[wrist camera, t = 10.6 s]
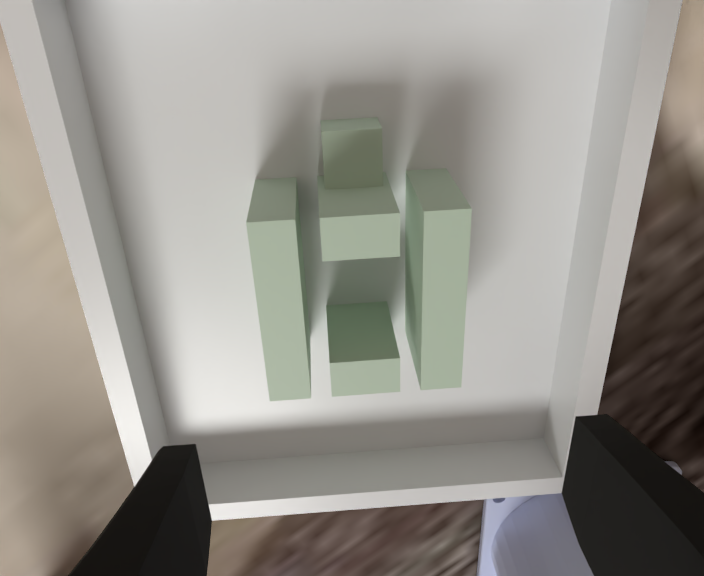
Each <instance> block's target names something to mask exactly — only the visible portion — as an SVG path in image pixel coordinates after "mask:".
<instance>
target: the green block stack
mask: <svg viewBox="0 0 704 576" xmlns="http://www.w3.org/2000/svg"><path fill="white" fill-rule="evenodd" d="M320 122H321V138H322V153H323V169H324V176H317V184H318V202H319V220H320V234H321V248H322V262H323V261H338V260H354V259H369V258H384V257H400V211H399V209H398V206H397V203H396V200H395V198H394V195H393V192H392V189H391V186H390V184H389V181H388V178H387V175H386V173H385V172H383V152H382V127H381V124H380V122H379V120H378V117H372V118H354V119H336V120H320ZM471 216H472V208H471V206H470V205H469V203H468V202H467V200H466V198H465V197H464V195H463V194H462V192H461V191H460V189H459V188H458V186H457V184H456V183H455V181H454V180H453V178H452V177H451V175H450V173H449V172H448V170H447V169H446V168H441V169H424V170H407V171H406V196H405V332H406V336H407V340H408V344H409V348H410V352H411V355H412V359H413V363H414V367H415V371H416V374H417V378H418V382H419V386H420V390H431V389H444V388H458V387H461V384H462V367H463V350H464V333H465V316H466V300H467V283H468V266H469V249H470V233H471ZM246 226H247V234H248V241H249V249H250V256H251V264H252V271H253V279H254V286H255V294H256V301H257V309H258V316H259V324H260V331H261V339H262V346H263V354H264V362H265V369H266V377H267V384H268V392H269V399H270V401H282V400H296V399H309V398H311V349H310V328H309V316H308V305H307V293H306V281H305V270H304V258H303V247H302V235H301V224H300V212H299V200H298V189H297V177H290V178H273V179H257V180H255V183H254V187H253V192H252V197H251V202H250V206H249V211H248V216H247V220H246ZM326 313H327V330H328V346H329V363H330V377H331V392H332V397H336V396H350V395H363V394H377V393H390V392H400V355H399V351H398V347H397V342H396V338H395V334H394V329H393V325H392V321H391V316H390V312H389V308H388V304H387V301H384V302H369V303H354V304H340V305H326Z"/></svg>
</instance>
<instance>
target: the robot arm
mask: <svg viewBox="0 0 704 576" xmlns="http://www.w3.org/2000/svg"><path fill="white" fill-rule="evenodd" d="M211 524H212V519H211V514H210V509H209V504H208V500H207V495H206V490H205V485H204V481H203V476H202V471H201V466H200V462H199V457H198V452H197V447H196V444H186V445H172V446H163V447H162V448H161V449H160V450H159V451H158V452H157V453H156V455H155V456H154V458H153V460H152V461H151V463H150V464H149V466H148V467H147V469H146V470H145V472H144V473H143V475H142V476H141V478H140V479H139V481H138V482H137V484H136V485H135V487H134V488H133V490H132V491H131V492H130V494H129V495H128V497H127V498H126V500H125V501H124V503H123V504H122V505H121V507H120V508H119V510H118V511H117V512H116V514H115V515H114V517H113V518H112V519H111V521H110V522H109V523H108V525H107V526H106V527H105V529H104V530H103V532H102V533H101V534H100V536H99V537H98V538H97V540H96V541H95V542H94V544H93V545H92V546H91V548H90V549H89V550H88V552H87V553H86V554H85V555H84V556H83V558H82V559H81V560H80V561H79V563H78V564H77V565H76V566H75V568H74V569H73V570H72V571H71V573H70V574H69V575H68V576H206V575H207V567H208V557H209V547H210V535H211ZM477 576H704V492H702V491H701V490H700V489H698V488H697V487H696V486H695V485H693V484H692V483H691V482H690V481H688V480H687V479H686V478H684V477H683V476H682V470H681V469H680V467H679V466H678V465H677V463H675V462H673V461H664V460H662V459H661V458H660V457H659V456H657V455H656V454H655V453H654V452H653V451H651V450H650V449H649V448H648V447H647V446H645V445H644V444H643V443H642V442H641V441H639V440H638V439H637V438H636V437H635V436H633V435H632V434H631V433H630V432H628V431H627V430H626V429H625V428H624V427H622V426H621V425H620V424H619V423H618V422H616V421H615V420H614V419H612V418H611V417H610V416H609V415H607V414H603V415H589V416H576V417H575V423H574V428H573V434H572V439H571V445H570V450H569V456H568V461H567V466H566V472H565V477H564V483H563V488H562V493H558V494H545V495H532V496H519V497H506V498H494V499H484V505H483V516H482V526H481V536H480V546H479V556H478V566H477Z"/></svg>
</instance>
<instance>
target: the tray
mask: <svg viewBox="0 0 704 576" xmlns="http://www.w3.org/2000/svg"><path fill="white" fill-rule="evenodd" d="M682 1H683V0H0V23H1V26H2V29H3V33H4V36H5V40H6V43H7V47H8V50H9V54H10V57H11V61H12V64H13V68H14V71H15V75H16V78H17V81H18V85H19V88H20V92H21V95H22V99H23V102H24V106H25V109H26V113H27V116H28V120H29V123H30V127H31V130H32V133H33V137H34V140H35V144H36V147H37V151H38V154H39V158H40V161H41V165H42V168H43V172H44V175H45V179H46V182H47V185H48V189H49V192H50V196H51V199H52V203H53V206H54V210H55V213H56V217H57V220H58V224H59V227H60V231H61V234H62V238H63V241H64V244H65V248H66V251H67V255H68V258H69V262H70V265H71V269H72V272H73V276H74V279H75V283H76V286H77V290H78V293H79V296H80V300H81V303H82V307H83V310H84V314H85V317H86V321H87V324H88V328H89V331H90V335H91V338H92V342H93V345H94V348H95V352H96V355H97V359H98V362H99V366H100V369H101V373H102V376H103V380H104V383H105V387H106V390H107V394H108V397H109V400H110V404H111V407H112V411H113V414H114V418H115V421H116V425H117V428H118V432H119V435H120V439H121V442H122V446H123V449H124V453H125V456H126V459H127V463H128V466H129V470H130V473H131V477H132V480H133V484H134V487H135V485H136V484H137V482H138V481H139V479H140V478H141V476H142V475H143V473H144V472H145V470H146V469H147V467H148V466H149V464H150V463H151V461H152V460H153V458H154V456H155V455H156V453H157V452H158V451H159V450H160V449H161V448H162V447H163V446H172V445H186V444H196V447H197V452H198V457H199V462H200V466H201V471H202V476H203V481H204V485H205V490H206V495H207V500H208V504H209V509H210V514H211V519H212V521H213V520H225V519H238V518H251V517H264V516H276V515H289V514H302V513H315V512H328V511H340V510H353V509H366V508H379V507H391V506H404V505H417V504H430V503H443V502H455V501H468V500H481V499H494V498H506V497H519V496H532V495H545V494H558V493H562V488H563V483H564V477H565V472H566V466H567V461H568V456H569V450H570V445H571V439H572V434H573V428H574V423H575V417H576V416H589V415H597V413H598V408H599V404H600V399H601V394H602V389H603V384H604V379H605V374H606V370H607V365H608V360H609V355H610V350H611V345H612V340H613V336H614V331H615V326H616V321H617V316H618V311H619V306H620V302H621V297H622V292H623V287H624V282H625V277H626V272H627V268H628V263H629V258H630V253H631V248H632V243H633V239H634V234H635V229H636V224H637V219H638V214H639V209H640V205H641V200H642V195H643V190H644V185H645V180H646V175H647V171H648V166H649V161H650V156H651V151H652V146H653V141H654V137H655V132H656V127H657V122H658V117H659V112H660V107H661V103H662V98H663V93H664V88H665V83H666V78H667V74H668V69H669V64H670V59H671V54H672V49H673V44H674V40H675V35H676V30H677V25H678V20H679V15H680V10H681V6H682ZM372 117H378V120H379V122H380V124H381V127H382V152H383V172H385V173H386V175H387V178H388V181H389V184H390V186H391V189H392V192H393V195H394V198H395V200H396V203H397V206H398V209H399V211H400V257H384V258H369V259H354V260H338V261H323V262H322V248H321V234H320V220H319V202H318V184H317V176H324V169H323V153H322V138H321V122H320V120H336V119H354V118H372ZM441 168H446V169H447V170H448V172H449V173H450V175H451V177H452V178H453V180H454V181H455V183H456V184H457V186H458V188H459V189H460V191H461V192H462V194H463V195H464V197H465V198H466V200H467V202H468V203H469V205H470V206H471V208H472V216H471V233H470V249H469V266H468V283H467V300H466V316H465V333H464V350H463V367H462V384H461V387H458V388H444V389H431V390H420V386H419V382H418V378H417V374H416V371H415V367H414V363H413V359H412V355H411V352H410V348H409V344H408V340H407V336H406V332H405V196H406V171H407V170H424V169H441ZM290 177H297V189H298V200H299V212H300V224H301V235H302V247H303V258H304V270H305V281H306V293H307V305H308V316H309V328H310V349H311V398H309V399H296V400H282V401H270V399H269V392H268V384H267V377H266V369H265V362H264V354H263V346H262V339H261V331H260V324H259V316H258V309H257V301H256V294H255V286H254V279H253V271H252V264H251V256H250V249H249V241H248V234H247V226H246V220H247V216H248V211H249V206H250V202H251V197H252V192H253V187H254V183H255V180H257V179H273V178H290ZM384 301H387V304H388V308H389V312H390V316H391V321H392V325H393V329H394V334H395V338H396V342H397V347H398V351H399V355H400V392H390V393H377V394H363V395H350V396H336V397H332V392H331V377H330V363H329V346H328V330H327V313H326V305H340V304H354V303H369V302H384Z"/></svg>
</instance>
